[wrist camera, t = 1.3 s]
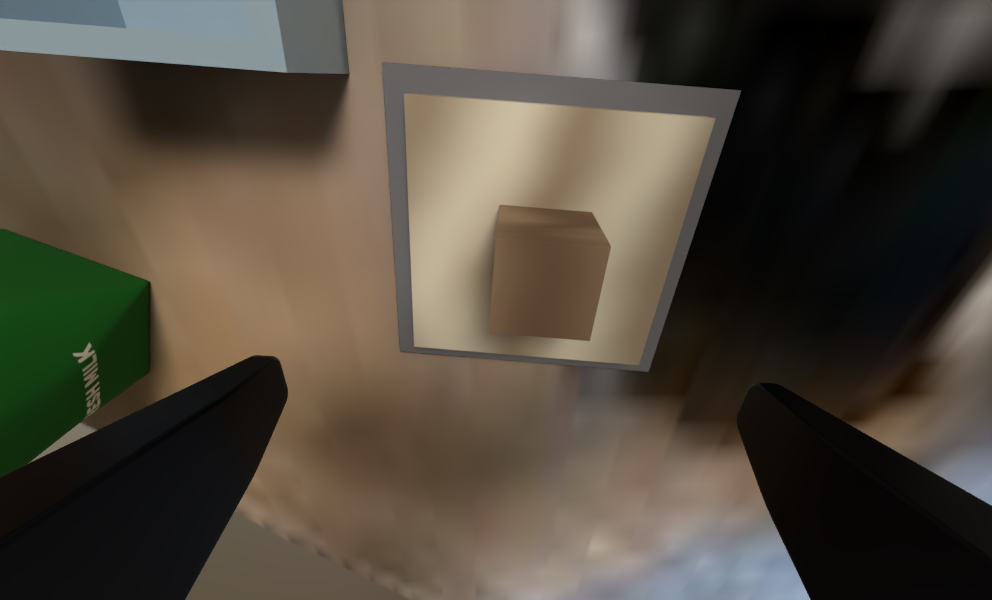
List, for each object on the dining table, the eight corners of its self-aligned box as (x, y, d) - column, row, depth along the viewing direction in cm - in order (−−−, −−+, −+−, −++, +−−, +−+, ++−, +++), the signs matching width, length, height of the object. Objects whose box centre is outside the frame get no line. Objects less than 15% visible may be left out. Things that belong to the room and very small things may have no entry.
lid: (706, 116, 16) (775, 130, 12) (635, 355, 22) (663, 422, 18) (408, 93, 16) (370, 98, 12) (417, 338, 22) (394, 399, 18)
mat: (736, 90, 16) (741, 90, 15) (646, 367, 23) (648, 371, 22) (385, 62, 16) (382, 61, 15) (401, 347, 23) (400, 351, 22)
